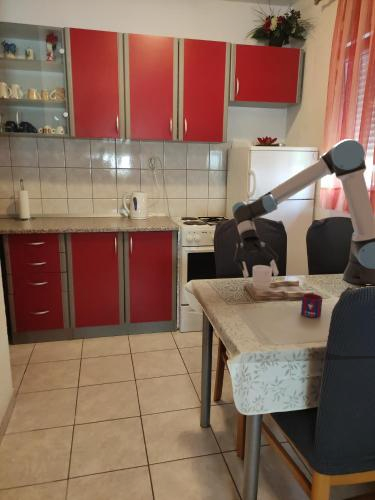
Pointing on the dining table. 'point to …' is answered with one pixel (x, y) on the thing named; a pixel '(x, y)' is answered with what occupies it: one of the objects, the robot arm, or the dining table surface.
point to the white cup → (262, 277)
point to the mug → (311, 305)
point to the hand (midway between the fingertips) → (261, 276)
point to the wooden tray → (278, 291)
